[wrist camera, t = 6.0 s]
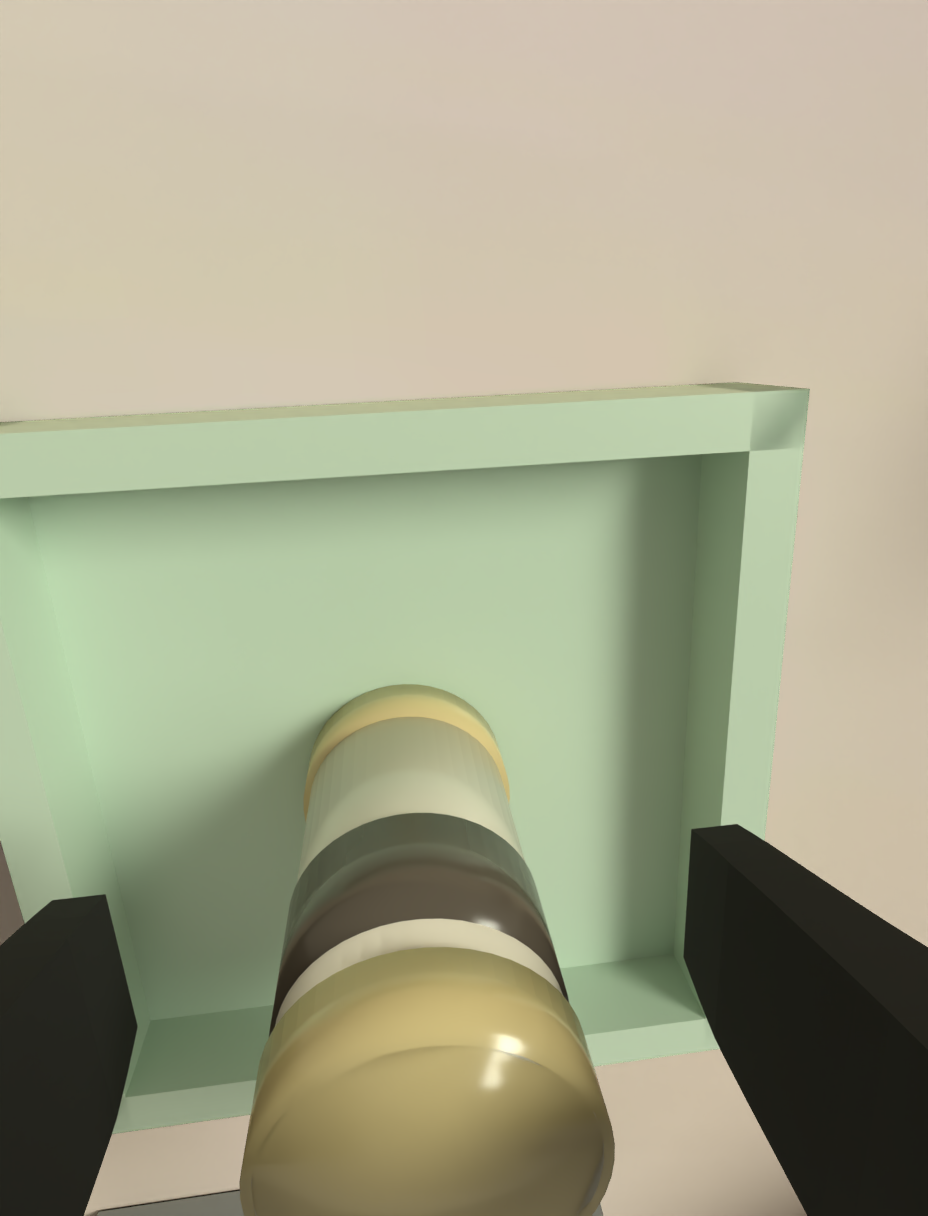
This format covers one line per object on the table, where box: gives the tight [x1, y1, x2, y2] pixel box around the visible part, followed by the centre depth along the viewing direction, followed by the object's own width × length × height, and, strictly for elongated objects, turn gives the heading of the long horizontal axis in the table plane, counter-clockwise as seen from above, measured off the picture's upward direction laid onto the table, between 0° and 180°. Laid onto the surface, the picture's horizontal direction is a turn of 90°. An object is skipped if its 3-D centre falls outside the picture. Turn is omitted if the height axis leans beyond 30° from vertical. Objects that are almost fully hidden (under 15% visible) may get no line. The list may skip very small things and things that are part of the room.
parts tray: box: [0, 382, 810, 1134], centre depth 13 cm, size 12×12×2 cm
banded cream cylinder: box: [240, 684, 615, 1216], centre depth 10 cm, size 3×3×7 cm
